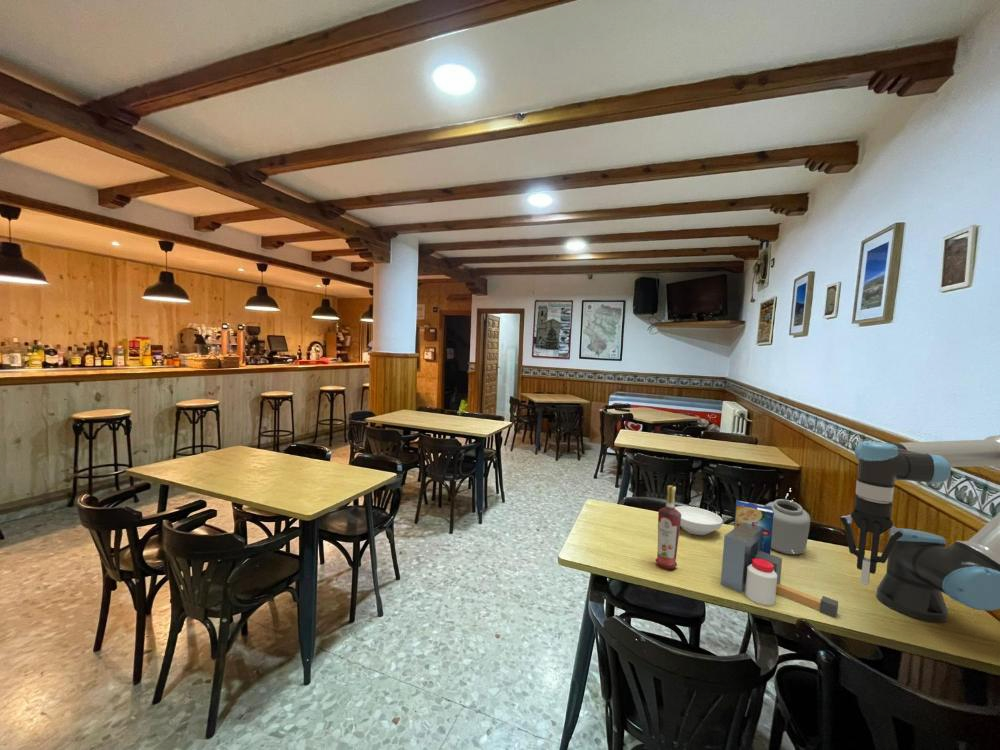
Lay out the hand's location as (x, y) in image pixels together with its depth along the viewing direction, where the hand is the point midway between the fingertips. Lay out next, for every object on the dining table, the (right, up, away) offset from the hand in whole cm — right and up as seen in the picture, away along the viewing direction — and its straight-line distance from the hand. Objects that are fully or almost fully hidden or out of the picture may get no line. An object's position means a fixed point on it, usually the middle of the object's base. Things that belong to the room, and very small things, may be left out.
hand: (864, 582), depth 111 cm
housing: (-20, -10, +23) cm, 32 cm away
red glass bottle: (-43, -9, +28) cm, 52 cm away
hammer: (-11, -11, +12) cm, 20 cm away
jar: (+9, -11, +45) cm, 47 cm away
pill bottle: (-22, -11, +12) cm, 27 cm away
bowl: (-18, -9, +59) cm, 62 cm away
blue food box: (-13, -11, +31) cm, 35 cm away
